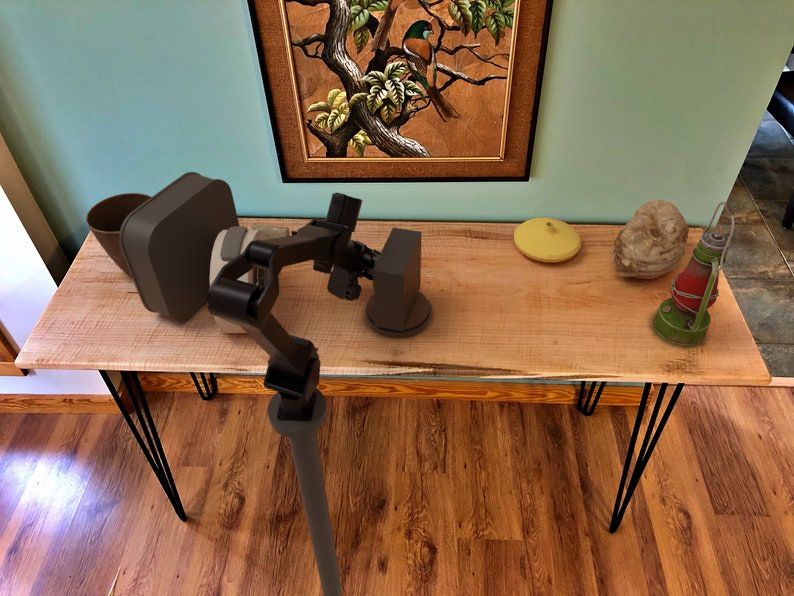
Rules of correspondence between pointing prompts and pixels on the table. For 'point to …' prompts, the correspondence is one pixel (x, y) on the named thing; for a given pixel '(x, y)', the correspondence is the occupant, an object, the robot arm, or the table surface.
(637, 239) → the rock
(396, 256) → the dark upright block
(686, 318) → the lantern
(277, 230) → the cuneiform tablet
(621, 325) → the table surface
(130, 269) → the speaker
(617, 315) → the table surface
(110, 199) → the flower pot
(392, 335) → the turntable base
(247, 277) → the alarm clock
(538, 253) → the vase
